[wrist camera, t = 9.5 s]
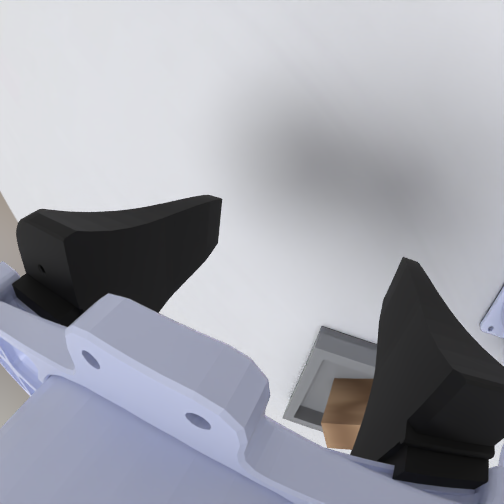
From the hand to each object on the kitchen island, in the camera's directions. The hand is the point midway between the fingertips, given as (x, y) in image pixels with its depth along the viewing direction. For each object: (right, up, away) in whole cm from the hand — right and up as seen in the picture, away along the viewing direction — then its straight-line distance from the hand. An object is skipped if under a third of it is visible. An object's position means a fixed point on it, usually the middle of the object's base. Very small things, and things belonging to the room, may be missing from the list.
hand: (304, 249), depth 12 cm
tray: (+8, -13, +15) cm, 22 cm away
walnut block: (+8, -13, +15) cm, 21 cm away
